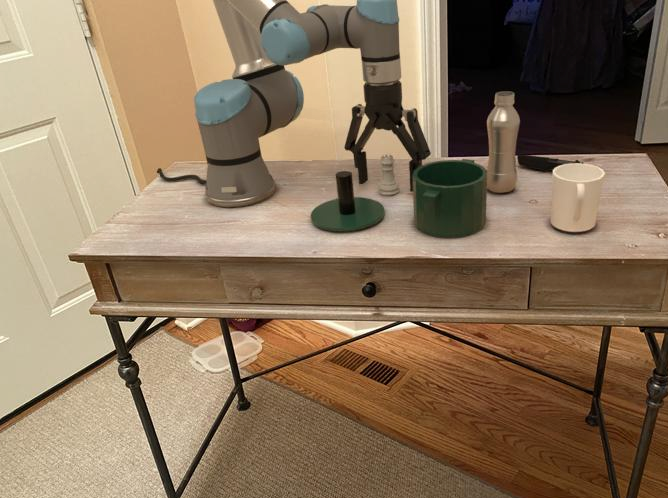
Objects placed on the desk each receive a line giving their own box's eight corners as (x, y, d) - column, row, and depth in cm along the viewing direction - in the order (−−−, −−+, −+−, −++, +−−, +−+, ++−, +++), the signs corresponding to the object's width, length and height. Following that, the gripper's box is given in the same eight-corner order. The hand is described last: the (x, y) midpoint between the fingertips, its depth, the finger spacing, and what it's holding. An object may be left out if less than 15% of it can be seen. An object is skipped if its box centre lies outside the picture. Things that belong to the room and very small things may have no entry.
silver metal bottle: (523, 190, 128) (529, 93, 117) (498, 199, 125) (502, 100, 114) (502, 181, 133) (506, 87, 122) (478, 189, 130) (480, 94, 119)
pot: (396, 237, 114) (393, 187, 108) (437, 198, 127) (436, 152, 122) (464, 250, 108) (465, 197, 102) (500, 208, 122) (502, 159, 116)
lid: (296, 226, 120) (290, 182, 115) (336, 198, 131) (331, 156, 126) (361, 239, 114) (357, 193, 109) (397, 208, 125) (395, 165, 120)
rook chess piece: (379, 188, 134) (377, 153, 130) (400, 188, 133) (398, 152, 129) (377, 196, 130) (375, 160, 126) (398, 196, 130) (396, 160, 125)
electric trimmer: (520, 164, 142) (521, 150, 140) (587, 172, 134) (589, 158, 132) (514, 169, 139) (514, 156, 137) (582, 178, 132) (583, 164, 130)
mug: (546, 214, 118) (551, 163, 112) (594, 215, 116) (601, 163, 111) (549, 240, 109) (554, 186, 103) (601, 241, 107) (609, 186, 102)
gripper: (320, 82, 122) (332, 185, 133) (430, 90, 111) (432, 200, 123) (340, 74, 127) (349, 173, 139) (446, 80, 117) (447, 186, 129)
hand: (388, 185), depth 131 cm, fingers open, 12 cm apart
